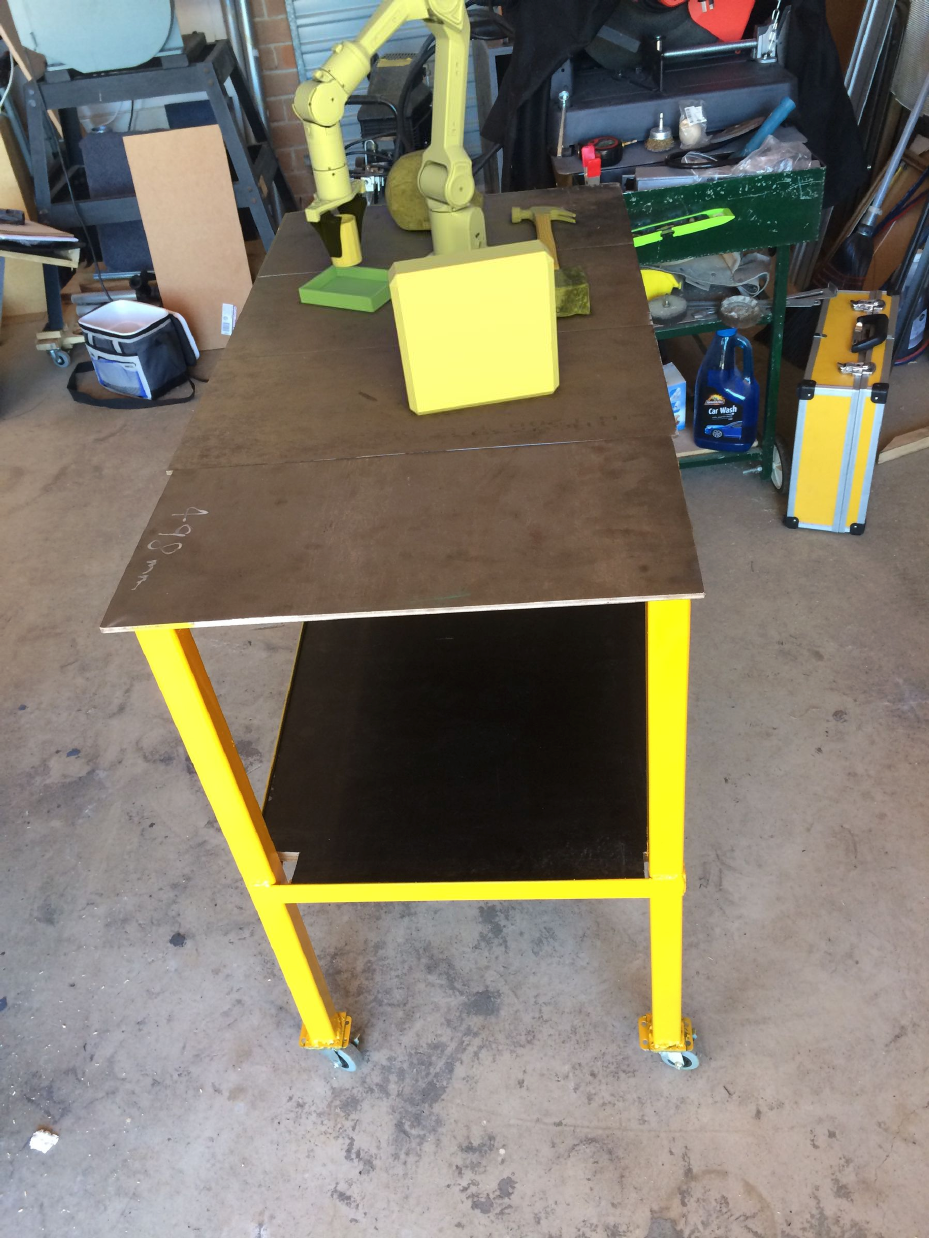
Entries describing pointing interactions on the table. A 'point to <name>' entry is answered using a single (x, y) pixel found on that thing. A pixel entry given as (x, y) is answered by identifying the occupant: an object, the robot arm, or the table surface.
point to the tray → (348, 288)
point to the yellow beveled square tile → (476, 326)
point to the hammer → (543, 224)
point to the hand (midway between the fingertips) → (345, 250)
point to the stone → (411, 194)
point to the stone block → (571, 292)
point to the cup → (348, 243)
